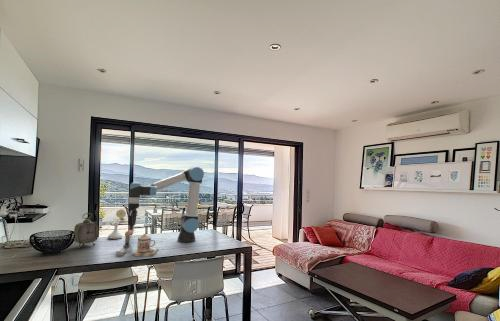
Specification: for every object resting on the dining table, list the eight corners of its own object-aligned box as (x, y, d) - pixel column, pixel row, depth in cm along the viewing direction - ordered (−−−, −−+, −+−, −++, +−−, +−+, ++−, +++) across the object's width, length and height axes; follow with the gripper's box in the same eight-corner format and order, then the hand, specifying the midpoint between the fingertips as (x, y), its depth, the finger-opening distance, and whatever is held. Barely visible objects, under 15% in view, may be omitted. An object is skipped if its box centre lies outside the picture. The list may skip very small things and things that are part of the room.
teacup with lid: (136, 252, 181) (137, 235, 182) (136, 249, 190) (137, 233, 191) (154, 251, 186) (156, 235, 187) (154, 248, 194) (155, 232, 195)
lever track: (131, 249, 195) (132, 245, 195) (123, 256, 179) (123, 251, 179) (124, 249, 194) (125, 245, 194) (115, 256, 178) (116, 251, 178)
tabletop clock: (77, 249, 189) (80, 214, 190) (71, 247, 194) (74, 213, 195) (97, 245, 201) (100, 212, 203) (91, 243, 206) (94, 211, 208)
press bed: (158, 250, 195) (158, 248, 195) (153, 256, 181) (153, 253, 182) (138, 250, 194) (139, 247, 194) (132, 255, 180) (132, 253, 180)
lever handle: (131, 245, 194) (132, 230, 195) (129, 247, 190) (130, 231, 190) (125, 245, 194) (126, 230, 194) (122, 247, 189) (123, 231, 190)
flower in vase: (106, 240, 218) (108, 209, 220) (109, 237, 229) (111, 208, 231) (123, 239, 222) (125, 210, 223) (125, 236, 232) (127, 208, 234)
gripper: (132, 201, 208) (129, 231, 206) (125, 203, 195) (122, 235, 193) (141, 202, 208) (139, 232, 207) (136, 203, 195) (133, 235, 194)
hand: (131, 233), depth 200 cm, fingers closed
